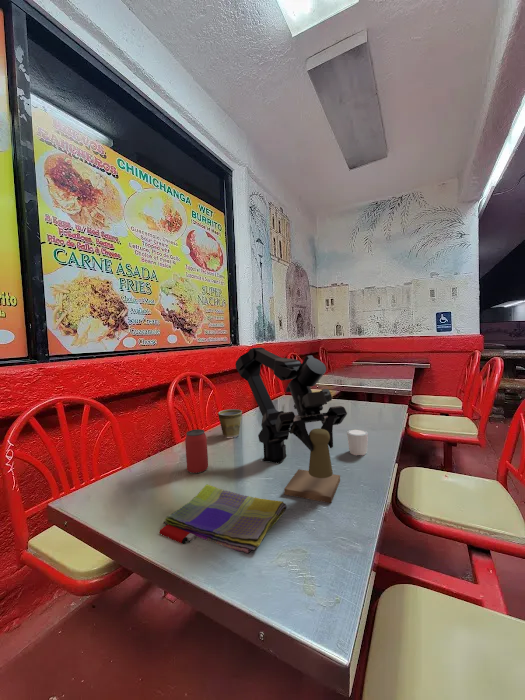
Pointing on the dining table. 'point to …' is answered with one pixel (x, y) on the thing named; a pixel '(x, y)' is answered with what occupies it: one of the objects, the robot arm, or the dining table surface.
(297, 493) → the walnut board
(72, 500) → the dining table surface
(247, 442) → the dining table surface
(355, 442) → the white cylinder
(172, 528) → the lighter
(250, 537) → the dish towel
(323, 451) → the olive brown peg figure
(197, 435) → the beer can
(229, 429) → the ceramic cup
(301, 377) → the robot arm
